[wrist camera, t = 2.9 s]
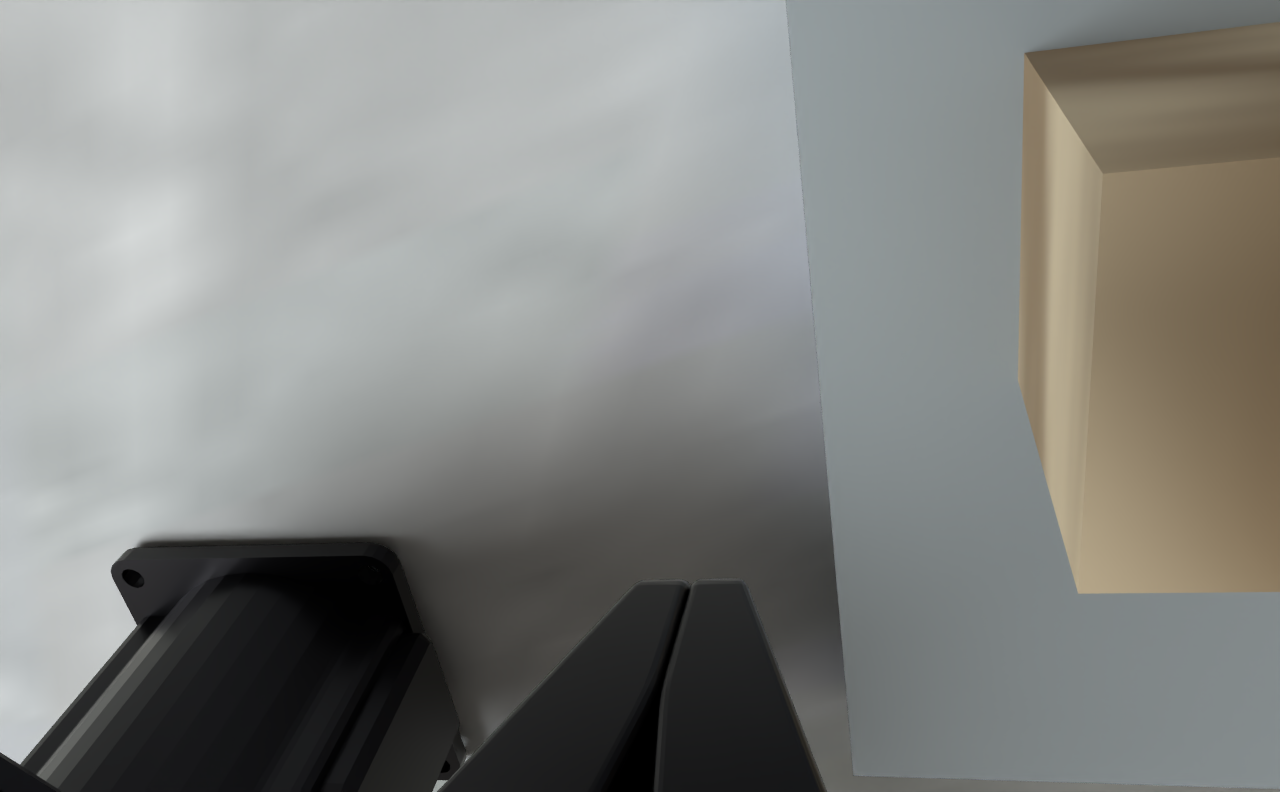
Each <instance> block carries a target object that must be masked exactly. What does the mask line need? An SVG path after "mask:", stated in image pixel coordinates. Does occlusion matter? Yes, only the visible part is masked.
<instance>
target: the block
mask: <svg viewBox="0 0 1280 792" xmlns="http://www.w3.org/2000/svg"><path fill="white" fill-rule="evenodd" d="M1018 383H1019V386H1020V390H1021V393H1022V397H1023V400H1024V404H1025V407H1026V411H1027V414H1028V418H1029V421H1030V425H1031V429H1032V432H1033V436H1034V439H1035V443H1036V446H1037V450H1038V453H1039V457H1040V460H1041V464H1042V467H1043V471H1044V475H1045V478H1046V482H1047V485H1048V489H1049V492H1050V496H1051V499H1052V503H1053V506H1054V510H1055V513H1056V517H1057V520H1058V524H1059V528H1060V531H1061V535H1062V538H1063V542H1064V545H1065V549H1066V552H1067V556H1068V559H1069V563H1070V566H1071V570H1072V574H1073V577H1074V581H1075V584H1076V588H1077V591H1078V594H1100V593H1226V592H1280V22H1274V23H1266V24H1258V25H1250V26H1241V27H1233V28H1225V29H1217V30H1209V31H1200V32H1192V33H1184V34H1176V35H1167V36H1159V37H1151V38H1143V39H1135V40H1126V41H1118V42H1110V43H1102V44H1093V45H1085V46H1077V47H1069V48H1060V49H1052V50H1044V51H1036V52H1028V53H1024V92H1023V143H1022V194H1021V245H1020V296H1019V347H1018Z"/></svg>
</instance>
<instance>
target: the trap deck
mask: <svg viewBox="0 0 1280 792" xmlns="http://www.w3.org/2000/svg"><path fill="white" fill-rule="evenodd" d="M786 9H787V20H788V32H789V43H790V55H791V66H792V78H793V89H794V101H795V112H796V124H797V135H798V146H799V158H800V169H801V181H802V192H803V204H804V215H805V227H806V238H807V250H808V261H809V272H810V284H811V295H812V307H813V318H814V330H815V341H816V353H817V364H818V376H819V387H820V398H821V410H822V421H823V433H824V444H825V456H826V467H827V479H828V490H829V502H830V513H831V524H832V536H833V547H834V559H835V570H836V582H837V593H838V605H839V616H840V628H841V639H842V650H843V662H844V673H845V685H846V696H847V708H848V719H849V731H850V742H851V754H852V765H853V776H875V777H907V778H939V779H971V780H1003V781H1035V782H1067V783H1099V784H1130V785H1162V786H1194V787H1226V788H1258V789H1280V592H1226V593H1100V594H1078V591H1077V588H1076V584H1075V581H1074V577H1073V574H1072V570H1071V566H1070V563H1069V559H1068V556H1067V552H1066V549H1065V545H1064V542H1063V538H1062V535H1061V531H1060V528H1059V524H1058V520H1057V517H1056V513H1055V510H1054V506H1053V503H1052V499H1051V496H1050V492H1049V489H1048V485H1047V482H1046V478H1045V475H1044V471H1043V467H1042V464H1041V460H1040V457H1039V453H1038V450H1037V446H1036V443H1035V439H1034V436H1033V432H1032V429H1031V425H1030V421H1029V418H1028V414H1027V411H1026V407H1025V404H1024V400H1023V397H1022V393H1021V390H1020V386H1019V383H1018V347H1019V296H1020V245H1021V194H1022V143H1023V92H1024V53H1028V52H1036V51H1044V50H1052V49H1060V48H1069V47H1077V46H1085V45H1093V44H1102V43H1110V42H1118V41H1126V40H1135V39H1143V38H1151V37H1159V36H1167V35H1176V34H1184V33H1192V32H1200V31H1209V30H1217V29H1225V28H1233V27H1241V26H1250V25H1258V24H1266V23H1274V22H1280V0H786Z"/></svg>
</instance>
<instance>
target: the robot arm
mask: <svg viewBox="0 0 1280 792" xmlns="http://www.w3.org/2000/svg"><path fill="white" fill-rule="evenodd" d="M369 566H373V567H374V568H376V569H378V570H379V572H377V571H374V570H372V569H371V568H369ZM111 574H112V577H113V580H114V582H115V584H116V586H117V587H118V589H119V591H120V593H121V595H122V597H123V599H124V601H125V603H126V605H127V607H128V608H129V610H130V612H131V614H132V616H133V618H134V620H135V622H136V624H137V627H136V628H135V629H134V630H133V631H132V633H131V634H130V635H129V636H128V637H127V639H126V640H125V641H124V642H123V643H122V645H121V646H120V647H119V648H118V649H117V650H116V652H115V653H114V654H113V655H112V656H111V658H110V659H109V660H108V661H107V662H106V663H105V665H104V666H103V667H102V668H101V669H100V671H99V672H98V673H97V674H96V675H95V676H94V678H93V679H92V680H91V681H90V682H89V684H88V685H87V686H86V687H85V688H84V690H83V691H82V692H81V693H80V694H79V695H78V697H77V698H76V699H75V700H74V701H73V703H72V704H71V705H70V706H69V707H68V708H67V710H66V711H65V712H64V713H63V714H62V716H61V717H60V718H59V719H58V720H57V721H56V723H55V724H54V725H53V726H52V727H51V729H50V730H49V731H48V732H47V733H46V734H45V736H44V737H43V738H42V739H41V740H40V742H39V743H38V744H37V745H36V746H35V748H34V749H33V750H32V751H31V752H30V753H29V755H28V756H27V757H26V758H25V759H24V761H23V762H22V763H21V764H20V765H19V764H18V763H16V762H15V761H13V760H11V759H10V758H8V757H7V756H5V755H3V754H2V753H0V792H432V791H433V789H434V786H435V784H436V781H437V780H448V781H447V782H446V783H445V784H444V785H443V786H442V787H441V788H440V789H439V790H438V791H437V792H827V790H826V788H825V785H824V783H823V780H822V777H821V775H820V772H819V770H818V767H817V765H816V762H815V759H814V757H813V754H812V752H811V749H810V746H809V744H808V741H807V739H806V736H805V733H804V731H803V728H802V726H801V723H800V720H799V718H798V715H797V713H796V710H795V707H794V705H793V702H792V700H791V697H790V694H789V692H788V689H787V687H786V684H785V682H784V679H783V676H782V674H781V671H780V669H779V666H778V663H777V661H776V658H775V656H774V653H773V650H772V648H771V645H770V643H769V640H768V637H767V635H766V632H765V630H764V627H763V624H762V622H761V619H760V617H759V614H758V612H757V609H756V606H755V604H754V601H753V599H752V596H751V593H750V591H749V588H748V586H747V584H746V583H745V582H744V581H743V580H741V579H699V580H697V581H695V582H694V583H693V584H692V585H690V584H689V583H688V582H687V581H685V580H682V579H671V580H643V581H639V582H638V583H636V584H634V585H633V586H632V587H631V588H630V589H629V590H628V591H627V592H626V593H625V595H624V596H623V597H622V598H621V599H620V600H619V601H618V602H617V603H616V604H615V605H614V606H613V607H612V608H611V609H610V610H609V611H608V612H607V613H606V615H605V616H604V617H603V618H602V619H601V620H600V621H599V622H598V623H597V624H596V625H595V626H594V627H593V628H592V629H591V630H590V631H589V632H588V633H587V635H586V636H585V637H584V638H583V639H582V640H581V641H580V642H579V643H578V644H577V645H576V646H575V647H574V648H573V649H572V650H571V651H570V652H569V653H568V654H567V656H566V657H565V658H564V659H563V660H562V661H561V662H560V663H559V664H558V665H557V666H556V667H555V668H554V669H553V670H552V671H551V672H550V673H549V674H548V676H547V677H546V678H545V679H544V680H543V681H542V682H541V683H540V684H539V685H538V686H537V687H536V688H535V689H534V690H533V691H532V692H531V693H530V694H529V696H528V697H527V698H526V699H525V700H524V701H523V702H522V703H521V704H520V705H519V706H518V707H517V708H516V709H515V710H514V711H513V712H512V713H511V714H510V716H509V717H508V718H507V719H506V720H505V721H504V722H503V723H502V724H501V725H500V726H499V727H498V728H497V729H496V730H495V731H494V732H493V733H492V734H491V735H490V737H489V738H488V739H487V740H486V741H485V742H484V743H483V744H482V745H481V746H480V747H479V748H478V749H477V750H476V751H475V752H474V753H473V754H472V755H471V757H470V758H469V759H468V760H467V761H466V762H465V759H466V751H465V748H464V745H463V742H462V739H461V736H460V733H459V730H458V728H459V719H458V716H457V714H456V711H455V708H454V705H453V702H452V699H451V696H450V693H449V690H448V687H447V684H446V682H445V679H444V676H443V673H442V670H441V667H440V664H439V661H438V658H437V655H436V652H435V650H434V647H433V644H432V642H431V641H430V640H429V638H428V637H427V636H426V635H425V632H424V629H423V626H422V623H421V621H420V618H419V615H418V612H417V609H416V606H415V603H414V600H413V597H412V595H411V592H410V589H409V586H408V583H407V580H406V577H405V574H404V571H403V569H402V566H401V563H400V561H399V559H398V557H397V556H396V554H395V553H394V552H392V551H391V550H390V549H389V548H387V547H385V546H383V545H380V544H375V543H342V544H296V545H249V546H203V547H157V548H133V549H128V550H127V551H126V552H125V553H124V554H123V555H122V556H121V557H120V558H119V559H118V560H117V561H116V562H115V563H114V564H113V565H112V569H111ZM464 762H465V763H464Z"/></svg>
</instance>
